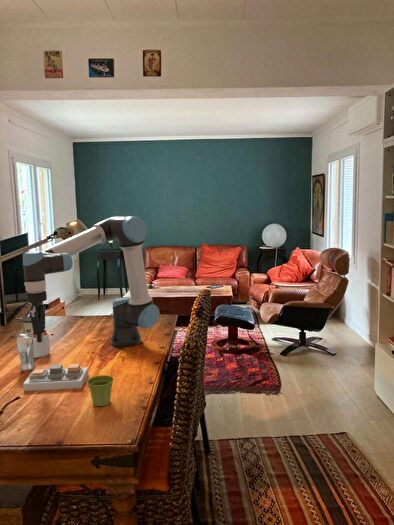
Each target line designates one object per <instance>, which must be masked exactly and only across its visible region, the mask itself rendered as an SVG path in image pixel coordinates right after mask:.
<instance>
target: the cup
mask: <svg viewBox="0 0 394 525" xmlns="http://www.w3.org/2000/svg"><path fill="white" fill-rule="evenodd" d="M43 333H44V340H45V349H44V350H37V341H36V334H33V333H31V334H33V338H34V359H39V358H44V357H46V356H49V354H50V352H51V345H50V344H51V343H50V334H49V332H47V331H46V332H43Z"/></svg>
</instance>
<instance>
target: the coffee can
mask: <svg viewBox="0 0 394 525" xmlns="http://www.w3.org/2000/svg"><path fill="white" fill-rule="evenodd" d="M21 324H22V334H25V333H33V327H32V322H31V317H30V315H28V316H25V317H22V318H21Z"/></svg>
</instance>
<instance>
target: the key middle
mask: <svg viewBox="0 0 394 525" xmlns="http://www.w3.org/2000/svg"><path fill="white" fill-rule="evenodd" d="M63 367H64V366H63V364H52V365H51V366H50V368H49V369H50V373H52V372H61V370H62V369H63Z"/></svg>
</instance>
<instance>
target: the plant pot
mask: <svg viewBox="0 0 394 525" xmlns="http://www.w3.org/2000/svg"><path fill="white" fill-rule="evenodd" d="M114 381H115V378H114V377H113V376H111V375H105V374H100V375H95V376H92V377H89V378H88V379H87V381H86V384H87V386H88V388H89V391H90V397H91V401H92V405H93V406H94V407H105V406H108V405H109V404H110V403H111V400H112V399H111V398H112V389H113V388H112V386H113V382H114Z"/></svg>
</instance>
